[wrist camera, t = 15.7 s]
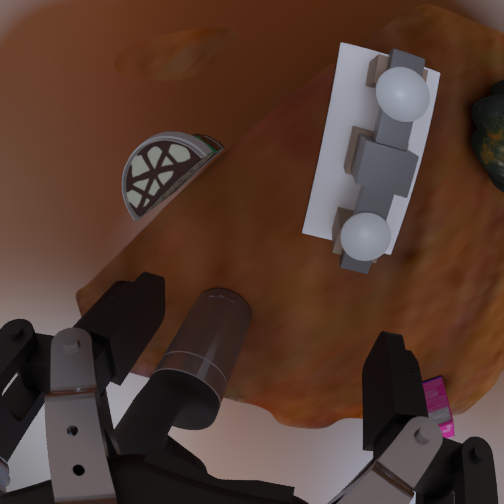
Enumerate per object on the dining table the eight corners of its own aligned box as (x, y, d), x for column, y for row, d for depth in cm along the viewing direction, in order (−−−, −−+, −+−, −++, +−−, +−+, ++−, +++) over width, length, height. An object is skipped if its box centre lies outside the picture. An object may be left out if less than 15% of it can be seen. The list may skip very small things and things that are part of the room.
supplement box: (445, 390, 50) (454, 437, 40) (417, 399, 52) (423, 447, 42) (442, 373, 48) (453, 423, 38) (413, 383, 50) (420, 433, 40)
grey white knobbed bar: (374, 53, 26) (384, 43, 20) (419, 67, 25) (438, 62, 20) (330, 244, 36) (330, 270, 31) (371, 253, 36) (377, 281, 30)
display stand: (388, 249, 40) (399, 281, 33) (302, 228, 41) (297, 257, 34) (436, 73, 28) (461, 69, 21) (340, 44, 30) (344, 30, 23)
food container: (202, 104, 37) (166, 108, 28) (233, 140, 38) (206, 154, 29) (142, 164, 42) (100, 184, 33) (170, 197, 44) (133, 224, 35)
